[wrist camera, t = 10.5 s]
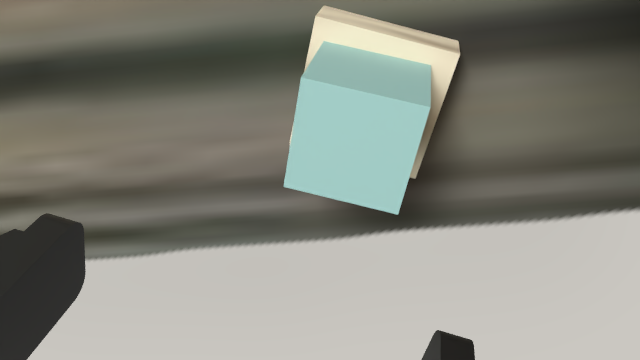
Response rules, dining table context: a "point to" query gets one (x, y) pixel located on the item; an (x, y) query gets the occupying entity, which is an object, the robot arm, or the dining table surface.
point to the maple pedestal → (391, 53)
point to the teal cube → (358, 126)
